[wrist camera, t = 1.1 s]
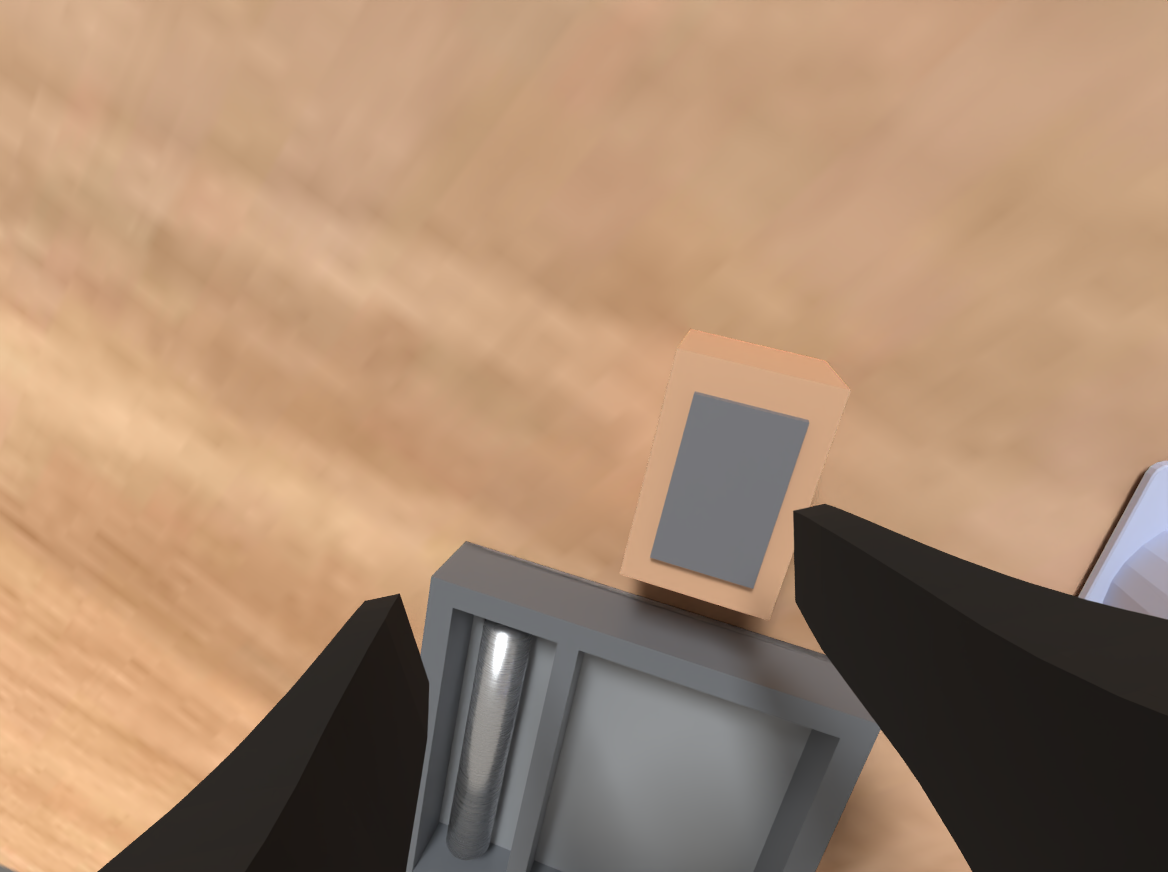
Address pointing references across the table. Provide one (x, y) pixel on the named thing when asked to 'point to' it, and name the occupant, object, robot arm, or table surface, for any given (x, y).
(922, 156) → the table surface
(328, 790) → the robot arm
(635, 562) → the block
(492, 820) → the rod
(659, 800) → the grey divided tray
